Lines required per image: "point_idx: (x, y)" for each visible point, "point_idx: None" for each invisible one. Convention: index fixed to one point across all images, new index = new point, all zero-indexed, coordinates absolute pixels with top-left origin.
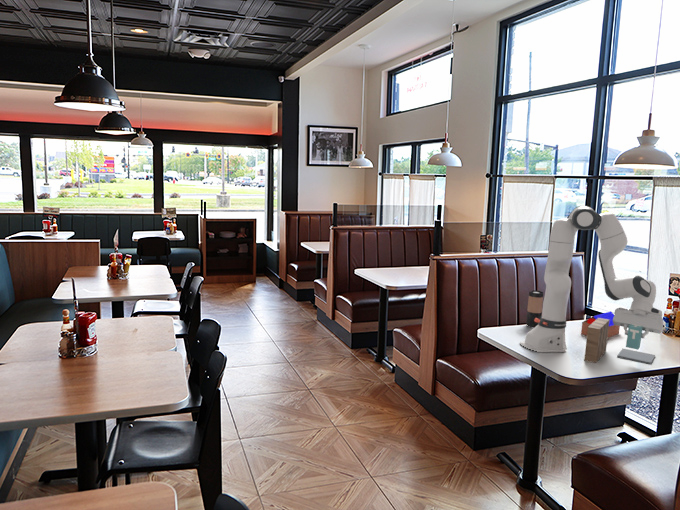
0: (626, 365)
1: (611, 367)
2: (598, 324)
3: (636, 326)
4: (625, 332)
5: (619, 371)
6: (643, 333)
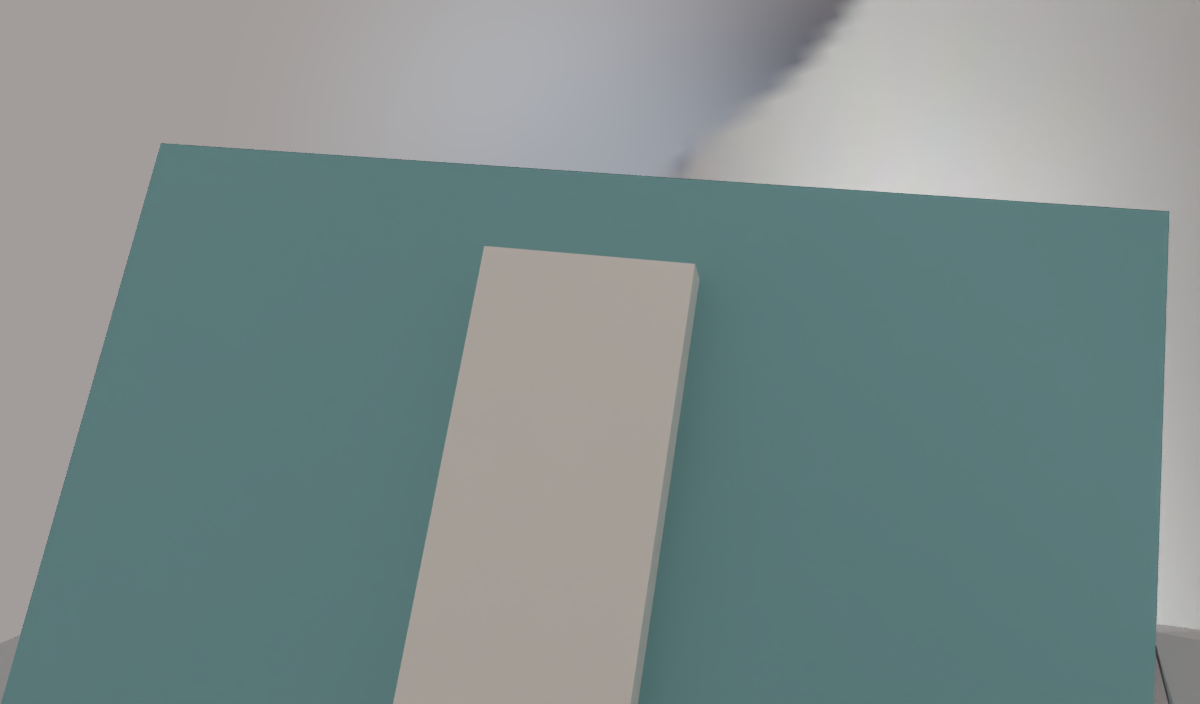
0: None
1: (1095, 144)
2: None
3: (481, 345)
4: (1182, 629)
5: (926, 11)
6: None
